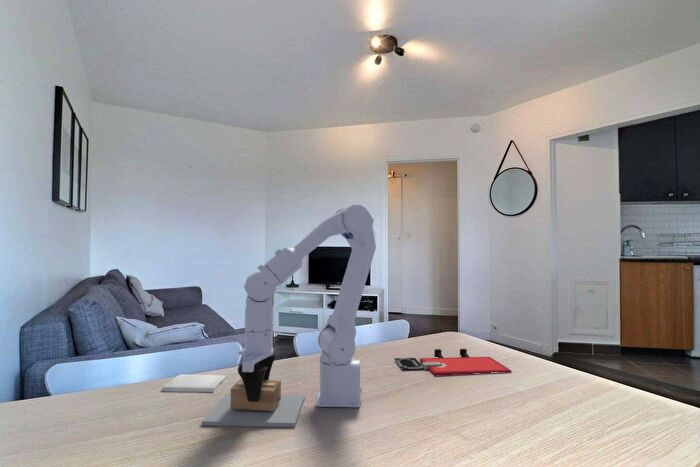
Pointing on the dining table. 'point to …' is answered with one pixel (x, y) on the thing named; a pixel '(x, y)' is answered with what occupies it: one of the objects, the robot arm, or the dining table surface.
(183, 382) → the hard drive
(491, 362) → the red board with handle
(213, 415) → the rubber mat
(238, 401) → the taped cardboard box
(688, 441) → the dining table surface
